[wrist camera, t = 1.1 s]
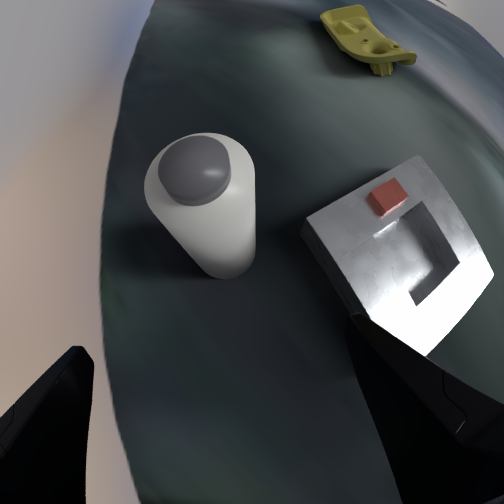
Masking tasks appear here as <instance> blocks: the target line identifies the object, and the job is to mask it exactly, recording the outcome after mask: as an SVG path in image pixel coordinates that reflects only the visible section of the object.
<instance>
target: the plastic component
mask: <svg viewBox="0 0 504 504" xmlns="http://www.w3.org/2000/svg"><path fill="white" fill-rule="evenodd" d="M320 18H321V20H322V23H323V25H324V27H325V29H326V31H327V32H328V33H329V34H330V36H331V37H332V39H333V40H334V41H335V43H336V44H337V45H338V47H339V48H340V50H341V51H343V52H346V53H347V54H349V55H350V56H351V57H353V58H355V59H357V60H359V61H362V62H366V63H370V67H371V70H373V73H374V74H378V75H380V76H383V75H387V74H388V75H391V71H393V66H392V62H396V61H398V62H399V63H401V64H403V65H413V64H414V63H415V62H416V57H417V56H416V54H415V53H414V52H413V51H409V50H408V51H404V50H403V49H402V48H401V46H400V45H398V44H397V43H396V42H394V41H392V40H390V39H387V38H386V37H385V36H384V35H383V34H382V33H380V32H379V31H378V30H377V29H376V28H375V27H374V25H373V23H372V21H371V19H370V17H369V15H368V13H367V11H366V9H365V8H364V7H363V6H361V5H353V6H348V7H343V8H338V9H334V10H329V11H326V12H324V13H322V14H321V15H320Z"/></svg>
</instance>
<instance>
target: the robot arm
mask: <svg viewBox="0 0 504 504" xmlns="http://www.w3.org/2000/svg"><path fill="white" fill-rule="evenodd" d="M345 339H346V342H347V346H348V349H349V353H350V356H351V360H352V363H353V367H354V370H355V374H356V377H357V380H358V383H359V385H360V388H361V390H362V393H363V395H364V398H365V400H366V403H367V405H368V408H369V410H370V413H371V415H372V418H373V420H374V423H375V426H376V428H377V431H378V433H379V436H380V439H381V441H382V444H383V447H384V450H385V452H386V455H387V458H388V461H389V464H390V466H391V469H392V472H393V475H394V478H395V481H396V484H397V487H398V491H399V494H400V497H401V500H402V503H403V504H504V404H502V403H500V402H498V401H496V400H494V399H492V398H491V397H489V396H487V395H485V394H483V393H481V392H479V391H478V390H476V389H474V388H472V387H470V386H469V385H467V384H465V383H464V382H462V381H460V380H459V379H457V378H456V377H454V376H453V375H451V374H450V373H448V372H447V371H446V370H444V369H443V370H442V368H441V367H440V366H438V365H437V364H435V363H434V362H432V361H431V360H429V359H428V358H427V357H425V356H424V355H422V354H421V353H419V352H418V351H416V350H415V349H413V348H412V347H411V346H409V345H408V344H406V343H405V342H403V341H402V340H400V339H399V338H397V337H396V336H394V335H393V334H391V333H390V332H389V331H387V330H386V329H384V328H383V327H381V326H380V325H378V324H377V323H375V322H374V321H372V320H371V319H369V318H368V317H366V316H365V315H363V314H362V313H356V314H352V315H349V316H348V318H347V324H346V330H345ZM93 377H94V362H93V360H92V358H91V357H90V356H89V354H88V353H87V351H86V350H85V348H84V347H82V346H72V347H71V348H70V349H69V350H68V351H67V352H65V353H64V354H63V355H62V356H61V357H60V358H59V359H58V360H57V361H56V362H55V363H54V364H53V365H52V366H51V367H50V368H49V369H48V370H47V371H46V372H45V373H44V374H43V375H42V376H41V377H40V378H39V379H38V380H37V381H36V382H35V383H34V384H33V385H32V386H31V387H30V388H29V389H28V390H27V391H26V392H25V393H24V394H23V395H22V396H21V397H20V398H19V399H18V400H17V401H16V402H15V404H13V405H12V406H11V407H10V408H9V409H8V410H7V412H5V413H4V415H3V416H2V417H0V504H86V496H85V494H86V492H85V491H86V490H85V489H86V454H87V440H88V431H89V421H90V413H91V405H92V391H93Z"/></svg>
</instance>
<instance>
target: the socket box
mask: <svg viewBox="0 0 504 504" xmlns="http://www.w3.org/2000/svg"><path fill="white" fill-rule="evenodd" d="M299 234H300V236H301V237H302V239H303V240H304V242H305V243H306V245H307V246H308V248H309V249H310V251H311V252H312V254H313V255H314V257H315V258H316V260H317V261H318V263H319V265H320V266H321V268H322V269H323V271H324V272H325V274H326V275H327V277H328V279H329V280H330V282H331V283H332V285H333V287H334V288H335V290H336V291H337V293H338V295H339V296H340V298H341V299H342V301H343V303H344V304H345V306H346V308H347V309H348V311H349V313H350V314H351V315H352V314H356V313H362V314H363V315H365V316H366V317H368V318H369V319H371V320H372V321H374V322H375V323H377V324H378V325H380V326H381V327H383V328H384V329H386V330H387V331H389V332H390V333H391V334H393V335H394V336H396V337H397V338H399V339H400V340H402V341H403V342H405V343H406V344H408V345H409V346H411V347H412V348H413V349H415V350H416V351H418V352H419V353H421V354H422V355H424V356H426V355H427V354H428V353H429V352H430V351H431V350H432V349H433V348H434V347H435V346H436V345H437V344H438V343H439V342H440V341H441V340H442V338H443V337H444V336H445V335H446V334H447V333H448V332H449V331H450V330H451V329H452V328H453V326H454V325H455V324H456V323H457V322H458V321H459V320H460V318H461V317H462V316H463V315H464V314H465V312H466V311H467V310H468V309H469V308H470V306H471V305H472V304H473V303H474V301H475V300H476V299H477V297H478V296H479V295H480V293H481V292H482V291H483V289H484V288H485V287H486V285H487V284H488V283H489V281H490V280H491V278H492V277H493V275H494V274H493V272H492V270H491V268H490V266H489V263H488V261H487V259H486V257H485V255H484V253H483V251H482V249H481V247H480V246H479V244H478V242H477V240H476V238H475V236H474V235H473V233H472V231H471V229H470V228H469V226H468V224H467V222H466V221H465V219H464V217H463V216H462V214H461V213H460V211H459V209H458V208H457V206H456V205H455V203H454V202H453V200H452V199H451V197H450V196H449V194H448V193H447V191H446V190H445V188H444V187H443V185H442V184H441V183H440V181H439V180H438V179H437V177H436V176H435V175H434V173H433V172H432V171H431V169H430V168H429V167H428V165H427V164H426V163H425V162H424V160H423V159H422V158H421V157H420V155H419V154H418V155H416V156H414V157H413V158H411V159H409V160H407V161H406V162H404V163H402V164H400V165H398V166H397V167H395V168H393V169H391V170H390V171H388V172H386V173H384V174H383V175H381V176H379V177H377V178H375V179H374V180H372V181H370V182H368V183H367V184H365V185H363V186H361V187H360V188H358V189H356V190H354V191H353V192H351V193H349V194H347V195H345V196H344V197H342V198H340V199H338V200H337V201H335V202H333V203H331V204H330V205H328V206H326V207H324V208H323V209H321V210H319V211H317V212H316V213H314V214H312V215H310V216H309V217H307V218H306V220H305V222H304V224H303V227H302V229H301V231H300V233H299Z"/></svg>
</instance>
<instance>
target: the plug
mask: <svg viewBox="0 0 504 504" xmlns="http://www.w3.org/2000/svg"><path fill="white" fill-rule="evenodd" d="M144 192H145V198H146V201H147V204H148V205H149V207H150V209H151V210H152V212H153V213H154V214H155V215H156V217H157V218H158V219H159V220H160V221H161V223H162V224H163V225H164V226H165V227H166V228H167V230H168V231H169V232H170V233H171V234H172V235H173V237H174V238H175V239H176V240H177V241H178V242H179V244H180V245H181V246H182V247H183V248H184V249H185V250H186V252H187V253H188V254H189V255H190V256H191V257H192V258H193V259H194V261H195V262H196V263H197V264H198V265H199V266H200V267H201V268H202V270H203V271H204V272H206V273H207V274H208V275H210V276H212V277H214V278H217V279H232V278H235V277H238V276H240V275H241V274H243V273H244V272H245V271H247V269H248V268H249V267H250V266H251V264H252V262H253V260H254V257H255V251H256V242H255V173H254V166H253V162H252V159H251V157H250V155H249V154H248V152H247V151H246V150H245V148H244V147H243V146H242V145H240V144H239V143H238V142H236V141H235V140H233V139H231V138H229V137H227V136H224V135H220V134H214V133H199V134H193V135H189V136H186V137H183V138H181V139H179V140H176V141H175V142H173V143H171V144H170V145H168V146H167V147H166V148H164V149H163V150H162V151H161V152H160V153H159V154H158V155H157V156H156V158H155V159H154V160H153V162H152V163H151V165H150V167H149V169H148V172H147V174H146V178H145V184H144Z"/></svg>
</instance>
